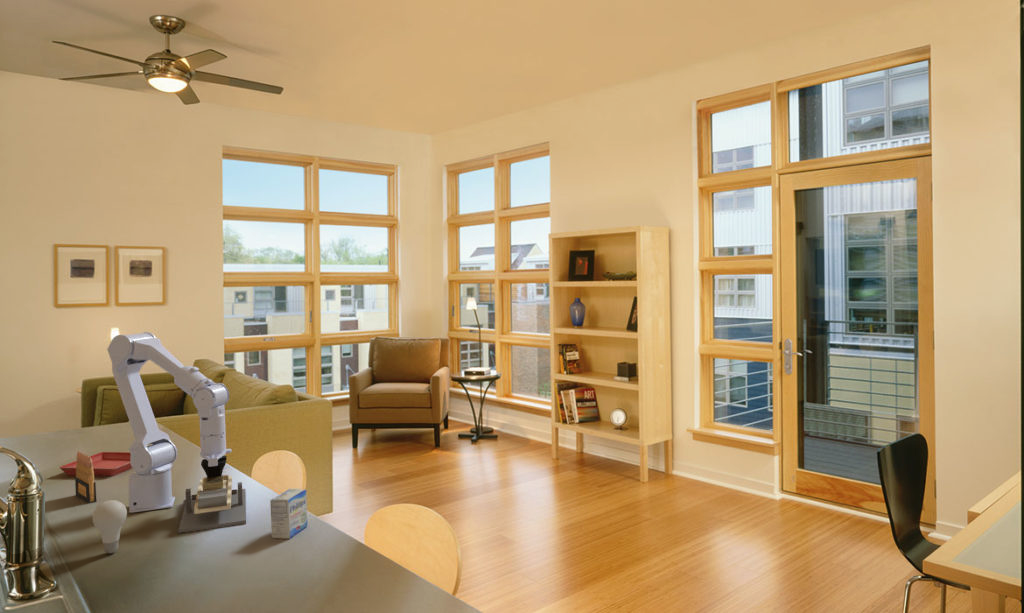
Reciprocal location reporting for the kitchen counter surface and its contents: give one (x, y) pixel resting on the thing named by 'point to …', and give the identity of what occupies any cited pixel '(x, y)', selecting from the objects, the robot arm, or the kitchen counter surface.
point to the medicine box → (288, 513)
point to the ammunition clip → (85, 478)
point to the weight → (212, 483)
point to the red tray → (104, 464)
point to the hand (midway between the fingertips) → (215, 488)
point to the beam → (214, 497)
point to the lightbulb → (110, 523)
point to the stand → (214, 513)
